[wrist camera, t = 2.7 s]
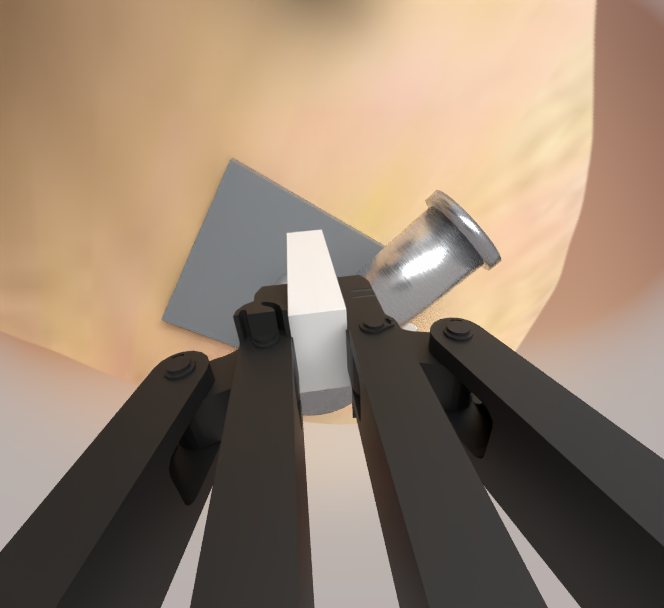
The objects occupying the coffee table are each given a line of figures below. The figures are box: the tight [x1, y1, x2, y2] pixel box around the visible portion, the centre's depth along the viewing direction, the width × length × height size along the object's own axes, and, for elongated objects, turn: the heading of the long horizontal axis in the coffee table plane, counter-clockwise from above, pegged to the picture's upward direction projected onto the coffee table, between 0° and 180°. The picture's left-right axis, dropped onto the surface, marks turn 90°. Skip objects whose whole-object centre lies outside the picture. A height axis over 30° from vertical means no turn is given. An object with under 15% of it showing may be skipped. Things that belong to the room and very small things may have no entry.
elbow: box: [300, 190, 501, 415], centre depth 23 cm, size 18×8×6 cm, turn 134°
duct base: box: [162, 158, 418, 348], centre depth 30 cm, size 23×16×7 cm
